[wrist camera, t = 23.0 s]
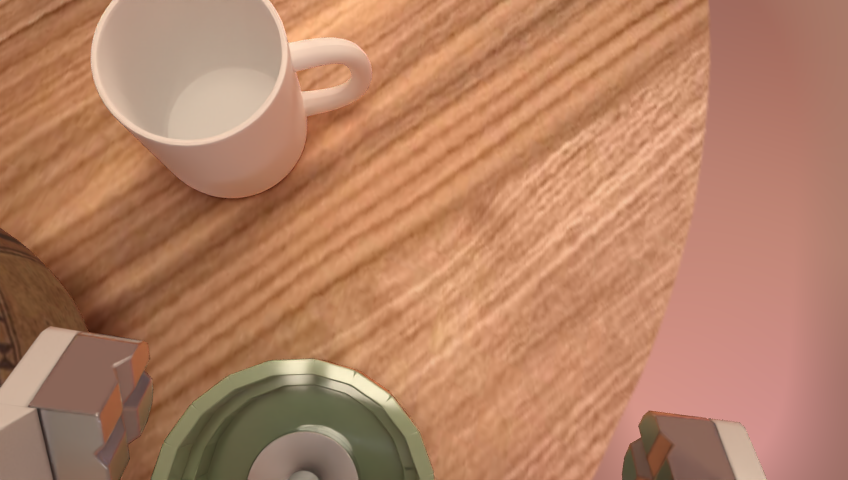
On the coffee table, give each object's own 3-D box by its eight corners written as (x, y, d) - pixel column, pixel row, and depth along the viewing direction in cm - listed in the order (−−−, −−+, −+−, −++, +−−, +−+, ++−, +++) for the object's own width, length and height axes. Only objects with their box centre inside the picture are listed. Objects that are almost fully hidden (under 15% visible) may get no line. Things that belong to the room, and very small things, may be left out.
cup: (151, 73, 41) (78, -22, 31) (359, 41, 42) (354, -61, 32) (171, 213, 39) (102, 161, 29) (385, 176, 41) (389, 113, 31)
